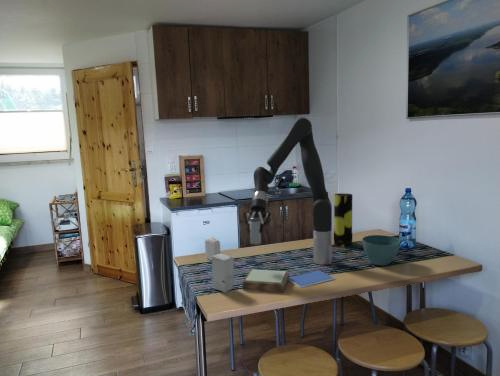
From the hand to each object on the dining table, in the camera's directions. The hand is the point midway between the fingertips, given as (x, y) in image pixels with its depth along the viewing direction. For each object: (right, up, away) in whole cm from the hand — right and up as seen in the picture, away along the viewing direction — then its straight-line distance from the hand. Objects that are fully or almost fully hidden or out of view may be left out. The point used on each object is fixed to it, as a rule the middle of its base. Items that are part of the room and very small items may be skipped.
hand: (254, 232), depth 191 cm
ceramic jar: (0, -5, +2) cm, 5 cm away
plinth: (+5, -23, -7) cm, 24 cm away
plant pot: (+64, -18, +17) cm, 69 cm away
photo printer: (-22, -18, +30) cm, 41 cm away
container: (+53, -13, +50) cm, 74 cm away
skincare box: (-14, -24, -10) cm, 30 cm away
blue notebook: (+26, -22, -2) cm, 34 cm away
